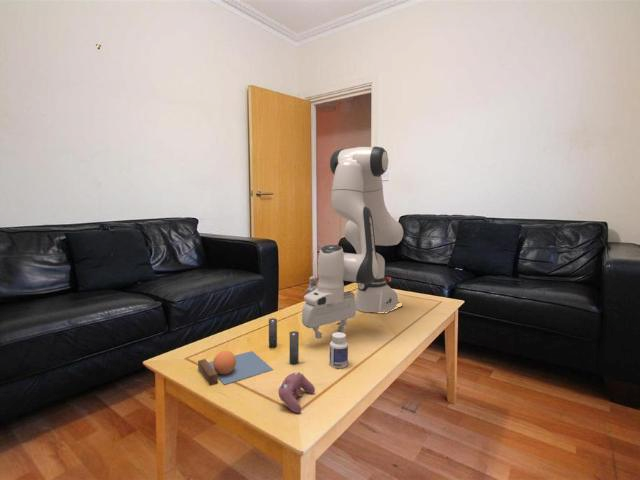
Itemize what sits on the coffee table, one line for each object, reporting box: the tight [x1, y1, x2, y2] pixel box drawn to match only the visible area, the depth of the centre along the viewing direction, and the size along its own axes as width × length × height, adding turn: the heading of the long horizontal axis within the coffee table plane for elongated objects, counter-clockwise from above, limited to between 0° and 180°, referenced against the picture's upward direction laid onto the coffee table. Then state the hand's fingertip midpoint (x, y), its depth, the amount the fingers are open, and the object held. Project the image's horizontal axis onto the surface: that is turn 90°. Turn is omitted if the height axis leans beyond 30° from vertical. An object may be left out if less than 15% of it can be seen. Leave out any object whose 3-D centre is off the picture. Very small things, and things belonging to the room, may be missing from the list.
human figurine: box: [300, 275, 317, 296], centre depth 132 cm, size 12×4×18 cm, turn 48°
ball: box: [213, 350, 236, 374], centre depth 93 cm, size 6×6×6 cm
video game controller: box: [278, 371, 316, 414], centre depth 81 cm, size 10×5×7 cm, turn 159°
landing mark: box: [207, 350, 274, 386], centre depth 97 cm, size 14×14×1 cm
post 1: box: [268, 317, 278, 349], centre depth 110 cm, size 3×3×9 cm
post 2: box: [289, 330, 300, 366], centre depth 99 cm, size 3×3×9 cm
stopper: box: [197, 358, 219, 386], centre depth 92 cm, size 2×10×2 cm, turn 36°
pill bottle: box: [329, 331, 349, 369], centre depth 99 cm, size 5×5×9 cm
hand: (329, 334), depth 115 cm, fingers open, 8 cm apart
